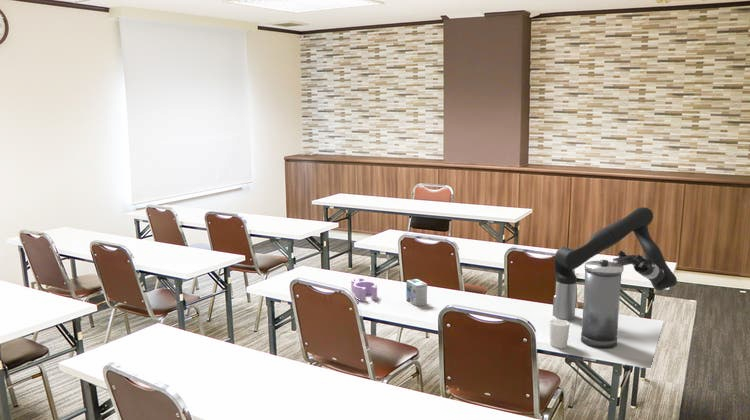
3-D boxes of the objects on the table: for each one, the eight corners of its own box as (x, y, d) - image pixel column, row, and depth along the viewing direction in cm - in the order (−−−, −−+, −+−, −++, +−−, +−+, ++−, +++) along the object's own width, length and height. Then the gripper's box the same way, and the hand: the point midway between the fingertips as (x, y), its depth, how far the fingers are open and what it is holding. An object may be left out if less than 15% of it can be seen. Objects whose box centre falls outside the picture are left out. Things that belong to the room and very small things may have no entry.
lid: (577, 267, 250) (577, 259, 249) (618, 258, 265) (619, 250, 264) (608, 275, 237) (608, 267, 237) (649, 265, 252) (650, 257, 252)
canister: (573, 340, 255) (577, 267, 249) (595, 333, 262) (599, 262, 257) (602, 351, 243) (607, 275, 237) (624, 344, 250) (629, 270, 245)
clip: (345, 291, 324) (345, 279, 323) (367, 289, 328) (367, 277, 327) (358, 302, 305) (358, 289, 304) (381, 299, 310) (381, 286, 309)
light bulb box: (405, 300, 309) (405, 280, 307) (417, 298, 312) (417, 278, 310) (415, 306, 300) (416, 285, 298) (427, 304, 302) (427, 283, 301)
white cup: (546, 346, 248) (548, 323, 246) (550, 340, 255) (551, 318, 253) (566, 350, 244) (567, 327, 242) (569, 343, 251) (571, 321, 249)
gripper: (635, 257, 270) (616, 243, 262) (664, 263, 259) (646, 249, 250) (629, 272, 270) (610, 258, 261) (658, 279, 258) (640, 266, 249)
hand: (628, 254), depth 255 cm, fingers open, 8 cm apart
